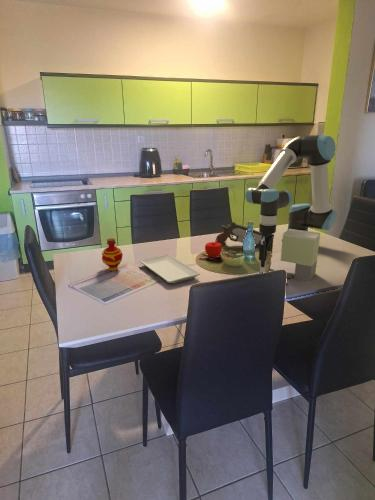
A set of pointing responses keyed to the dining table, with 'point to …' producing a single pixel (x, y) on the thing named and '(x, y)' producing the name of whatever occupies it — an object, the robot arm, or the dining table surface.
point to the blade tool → (268, 258)
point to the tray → (170, 268)
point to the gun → (236, 234)
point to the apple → (213, 249)
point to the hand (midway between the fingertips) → (264, 271)
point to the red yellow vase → (112, 255)
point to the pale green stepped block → (301, 252)
